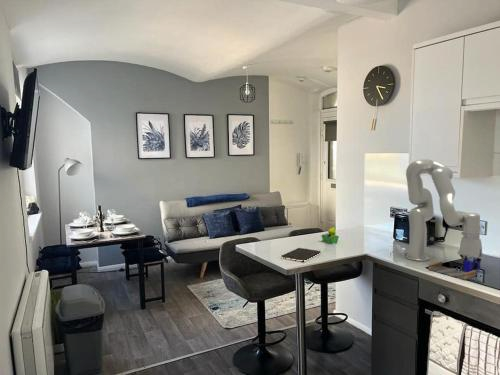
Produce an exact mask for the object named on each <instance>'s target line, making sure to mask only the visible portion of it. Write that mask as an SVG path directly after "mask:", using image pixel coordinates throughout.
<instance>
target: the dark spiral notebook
mask: <svg viewBox="0 0 500 375" xmlns="http://www.w3.org/2000/svg"><path fill="white" fill-rule="evenodd" d="M319 253H321V250H316V249H309V248H303V247H298V248H296V249H293V250H291V251H287V253H284V254H281V258H282V257H283V258H290V259H296V260H303V261H304V260H307V259H309V258H311V257H313V256H315V255H317V254H319ZM319 255H320V254H319ZM317 256H318V255H317ZM315 257H316V256H315ZM313 258H314V257H313Z"/></svg>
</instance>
